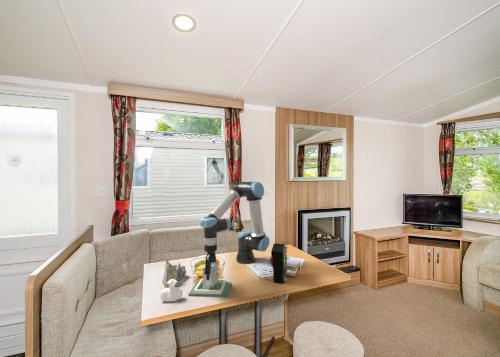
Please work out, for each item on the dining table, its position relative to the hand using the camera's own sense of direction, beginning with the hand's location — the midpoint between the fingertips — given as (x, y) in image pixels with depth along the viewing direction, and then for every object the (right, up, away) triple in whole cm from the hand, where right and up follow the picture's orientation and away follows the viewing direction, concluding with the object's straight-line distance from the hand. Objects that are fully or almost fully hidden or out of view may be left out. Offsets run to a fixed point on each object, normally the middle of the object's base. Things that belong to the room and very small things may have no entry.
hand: (210, 280), depth 134 cm
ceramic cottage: (-26, -6, +12) cm, 29 cm away
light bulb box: (0, -1, 0) cm, 1 cm away
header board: (0, -5, 0) cm, 5 cm away
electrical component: (+43, -5, +16) cm, 46 cm away
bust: (-20, -6, -10) cm, 23 cm away
